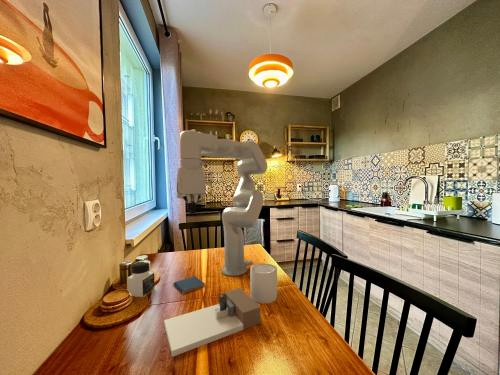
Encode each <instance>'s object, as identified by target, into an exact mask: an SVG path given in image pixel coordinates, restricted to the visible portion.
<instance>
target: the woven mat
mask: <svg viewBox="0 0 500 375" xmlns="http://www.w3.org/2000/svg"><path fill="white" fill-rule="evenodd" d="M172 286H173V287H175V289H176V290H178V291H179V292H180V293H181V294H182V295H184V294H185V293H190V292H193V291H196V290H198V289H202V288H203V287H205V286H206V283H205V282H204V281H202V280H201V279H199V278H198V277H197V276H196V275H194V276H189V277H185V278H184V279H180V280H175V281H174V282H173V283H172Z"/></svg>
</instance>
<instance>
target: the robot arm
mask: <svg viewBox="0 0 500 375" xmlns="http://www.w3.org/2000/svg"><path fill="white" fill-rule="evenodd" d="M179 134H180V136H179V145H180V146H179V151H180V154H179V155H180V167H178V168H177V175H176V198H177V199H181V200H182V199H183V200H184V201H185V202H186V205H187V206H186V209H187V212H188V214H190V215H193V214H194V215H195V214H196V211H197V203H198V201H199V200H200V199H203V198H205V197H206V196H207V194H206V191H207V190H206V178H205V170H204V168H202V167H203V166H206V162H204V161H203V160H202V157H215V158H227V159H235V160H236V159H237V160H239V161H238V162H237V165H236V169H237V172H238V178H239V182H238V184H237V185H238V186H237V187H236V190H235V193H234V194H233V196H232V200H231V201H232V204H233V206H228V207H226V208H225V209H223V211H222V213H221V220H222V225H223V233H224V234H223V237H224V243H223V244H224V266H223V267H222V268H221V273H222V275H225V276H229V277H238V276H242V275H245V274H246V273H247V272H248V266H253V265H254V262H253V260H248V259H246V260H245V235H244V230H243V229H242V228H245V229H251V228H254V227H255V226H256V224H257V222H258V219H259V216H260V213H261V210H262V207H263V204H264V195H263V193H262V191H261V190H259V189H255V186H256V184H255V182H254V179H253V178H252V177H251V175H263V174H265V173H266V172H267V169H268V163H267V160H266V158H265V156H264V153H263V151H262V149H261V147H260V146H259V144H258V143H257V141H254V140H248V141H237V140H232V139H230V138H218V137H217V136H216V135H214V134H212V133H203V132H199V131H196V130H183V131H181V132H180V133H179ZM191 195H192V199H191Z"/></svg>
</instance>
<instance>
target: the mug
mask: <svg viewBox="0 0 500 375" xmlns="http://www.w3.org/2000/svg"><path fill="white" fill-rule="evenodd" d="M249 269H250V271H249V272H250V273H249V274H250V275H249V276H250V278H249V281H250V282H249V283H250V284H249V285H250V287H249V288H250V289H249V290H250V292H249V293H250V296H251V297H250V296H249V297H250V298H251V299H252V300H253V301H254V302H256V303H257V302H258V303H257V304H264V303H266V304H271V303H274V302H275V301H277V299H278V267H277V266H276V265H273V264H270V263H256V264H252V265H251V267H250V268H249ZM276 298H277V299H276ZM273 301H274V302H273ZM270 302H271V303H270Z"/></svg>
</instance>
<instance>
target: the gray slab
mask: <svg viewBox="0 0 500 375" xmlns="http://www.w3.org/2000/svg"><path fill="white" fill-rule="evenodd" d="M224 294H226V295H227V306H228V307H229V315H227V316H224V317H221V318H218V319H216V317H215V316H214V309H217V308H219V303H217V304H214V305H211V306H208V307H207V306H206V307H204V308H201V309H197V310H193V311H191V312H187V313H184V314H181V315H178V316H174V317H170V318H167V319H164V320H163V326H164V330H165V334H166V337H167V338H166V339H167V343H168V346H169V349H170V355H171V357H172V358H174V357H176V356H178V355H181V354H184V353H186V352H189V351H191V350H194V349H196V348H199V347H202V346H204V345H207V344H209V343H212V342H215V341H217V340H221V339H222V338H225V337H228V336H231V335H233V334H235V333H236V334H237V333H238V332H241V331H243V330H246V329H248V328H252V327H254V326H257V325H259V324H261V306H260V305H259V303H257V302H255V301H253V300H252V299H251V297H250V296H249V295H248V294H247V293H246V292H245V291H244V290H242V288H241V287H239V288H235V289H231V290H228V291H224ZM234 306H235V313H234Z"/></svg>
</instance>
